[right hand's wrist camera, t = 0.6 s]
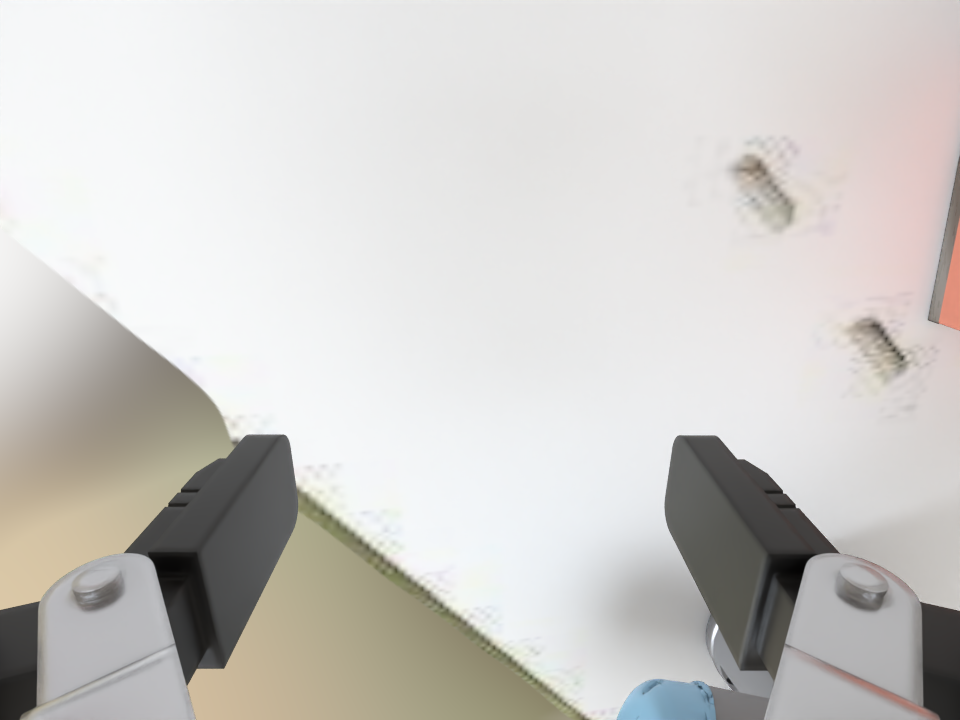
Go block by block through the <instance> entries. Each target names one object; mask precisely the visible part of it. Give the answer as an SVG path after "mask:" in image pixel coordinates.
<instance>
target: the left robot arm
mask: <svg viewBox="0 0 960 720" xmlns="http://www.w3.org/2000/svg"><path fill="white" fill-rule="evenodd" d="M706 642H707V647H708V651H709V653H710V655H711V658H712V660H713V662H714V664H715V666H716V668H717V670H718V672H719V674H720V675H721V676H722V678H723V679H724V680H725V682H726V683H727V684H728V685H729V686H730V688H731V689H732V690H733V691H731V690H726V689H721V688H716V687H711V686H708V685H707V684H705V683H704V682H700V681H693V682H691V683H684V682H677V681H670V680H663V679H653V680H649V681H646V682H644V683H642V684H640V685H639V686H637V687H636V688H635V689H634V690H633V691H632V692H631V693H630V695H629V696H628V698H627V699H626V701H625V702H624V704H623V706H622V708H621V710H620V712H619V715H618V717H617V720H764V717H765V714H766V710H767V706H768V702H769V699H770V695H771V691H772V688H773V684H774V681H773V679H772V677H771V675H770V674H769V672H768V671H740V669H739V667H738V665H737V663H736V661H735V659H734V658H733V656H732V654H731V652H730V650H729V648H728V646H727V644H726V642H725V640H724V638H723V636H722V634H721V632H720V630H719V628H718V626H717V624H716V622H715V620H714V618H713V616H712V614H711V616H710V619H709V621H708V625H707V630H706Z"/></svg>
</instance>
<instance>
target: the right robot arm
mask: <svg viewBox="0 0 960 720" xmlns="http://www.w3.org/2000/svg"><path fill="white" fill-rule="evenodd" d="M297 514H298V496H297V489H296V482H295V475H294V468H293V461H292V454H291V448H290V443H289V440H288V438H287V436H286V435H246V436H245V437H244V438H243V439H242V440H241V442H240V443H239V444H238V445H237V446H236V447H235V449H234V450H233V451H232V452H231V453H230V455H229V456H228V457H227V458H226V459H217V460H216V461H214V462H213V463H211V464H209V465H208V466H206V467H204V468H203V469H201V470H200V471H198V472H196V473H195V474H194V475H193V477H192V478H191V479H190V480H189V481H188V482H187V483H186V484H185V485H184V487H183V488H182V489H181V493H177V494H176V495H175V497H174V498H173V499H172V500H171V501H170V502H169V505H168V507H165V508H164V509H163V510H162V511H161V512H160V513H159V514H158V515H157V517H156V518H155V519H154V520H153V521H152V522H151V523H150V524H149V526H148V527H147V528H146V529H145V530H144V531H143V532H142V533H141V534H140V536H139V537H138V538H137V539H136V540H135V541H134V542H133V543H132V544H131V546H130V547H129V548H128V549H127V550H126V551H125V552H124V553H122V554H115V555H110V556H106V557H102V558H99V559H96V560H93V561H91V562H89V563H86V564H84V565H82V566H80V567H78V568H76V569H74V570H73V571H71V572H69V573H68V574H66V575H65V576H63V577H62V578H60V579H59V580H58V581H57V582H56V583H54V584H53V585H52V586H51V587H50V588H49V589H48V590H47V592H46V593H45V594H44V596H43V597H42V599H41V601H40V602H35V603H30V604H26V605H21V606H17V607H12V608H8V609H3V610H0V720H196V717H195V714H194V710H193V706H192V702H191V699H190V695H189V691H188V688H187V685H188V683H189V682H190V680H191V678H192V676H193V674H194V673H195V671H196V669H224V668H225V666H226V664H227V662H228V660H229V658H230V656H231V654H232V652H233V650H234V648H235V646H236V644H237V642H238V640H239V637H240V636H241V634H242V632H243V630H244V628H245V626H246V624H247V622H248V620H249V618H250V616H251V614H252V612H253V610H254V608H255V606H256V604H257V602H258V600H259V598H260V596H261V594H262V592H263V590H264V588H265V586H266V584H267V582H268V580H269V578H270V576H271V574H272V572H273V570H274V568H275V566H276V564H277V562H278V560H279V558H280V556H281V554H282V552H283V550H284V548H285V546H286V544H287V542H288V540H289V538H290V536H291V534H292V532H293V529H294V527H295V524H296V520H297ZM665 516H666V522H667V526H668V529H669V531H670V533H671V535H672V537H673V539H674V541H675V543H676V545H677V547H678V549H679V551H680V553H681V555H682V557H683V559H684V561H685V563H686V565H687V567H688V569H689V571H690V573H691V575H692V577H693V579H694V580H695V582H696V584H697V586H698V588H699V590H700V592H701V594H702V596H703V598H704V600H705V602H706V604H707V606H708V608H709V610H710V612H711V614H712V616H713V618H714V620H715V622H716V624H717V626H718V628H719V630H720V632H721V634H722V636H723V638H724V640H725V642H726V644H727V646H728V648H729V650H730V652H731V654H732V656H733V658H734V659H735V661H736V663H737V665H738V667H739V669H740V671H768V672H769V674H770V675H771V677H772V679H773V681H774V684H773V688H772V691H771V695H770V699H769V702H768V706H767V710H766V714H765V717H764V720H960V611H957V610H953V609H948V608H944V607H939V606H935V605H930V604H926V603H922V602H920V601H919V599H918V597H917V596H916V594H915V593H914V592H913V590H912V589H911V588H910V587H909V586H908V585H907V584H906V583H904V582H903V581H902V580H901V579H900V578H898V577H897V576H895V575H894V574H892V573H891V572H889V571H888V570H886V569H884V568H882V567H880V566H878V565H876V564H874V563H872V562H869V561H867V560H864V559H861V558H858V557H854V556H850V555H845V554H840V553H839V552H838V551H837V550H836V549H835V548H834V546H833V545H832V544H831V543H830V542H829V541H828V540H827V539H826V538H825V537H824V535H823V534H822V533H821V532H820V531H819V530H818V529H817V528H816V527H815V525H814V524H813V523H812V522H811V521H810V520H809V519H808V518H807V517H806V516H805V514H804V513H803V512H802V511H801V510H800V509H799V508H796V506H795V503H794V502H793V501H792V500H791V499H790V498H789V497H788V496H787V495H786V494H783V490H782V489H781V488H780V487H779V486H778V485H777V484H776V483H775V481H774V480H773V479H772V478H771V477H770V476H769V475H768V474H767V473H765V472H764V471H762V470H761V469H759V468H757V467H756V466H754V465H752V464H751V463H749V462H748V461H746V460H737V459H736V457H735V456H734V455H733V454H732V453H731V452H730V450H729V449H728V448H727V447H726V446H725V444H724V443H723V442H722V441H721V440H720V439H719V438H718V437H717V436H677V437H676V439H675V441H674V443H673V448H672V455H671V462H670V468H669V475H668V482H667V489H666V496H665Z"/></svg>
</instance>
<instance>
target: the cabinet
mask: <svg viewBox="0 0 960 720" xmlns="http://www.w3.org/2000/svg"><path fill="white" fill-rule="evenodd" d="M928 320H929V321H932V322H935V323H938V324H942V325H945V326H948V327H951V328H954V329H956V330H959V331H960V158H959V163H958V168H957V174H956V179H955V184H954V189H953V194H952V199H951V205H950V210H949V215H948V220H947V225H946V230H945V236H944V241H943V246H942V251H941V256H940V261H939V267H938V272H937V277H936V282H935V287H934V292H933V298H932V303H931V308H930V313H929V318H928Z"/></svg>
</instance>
